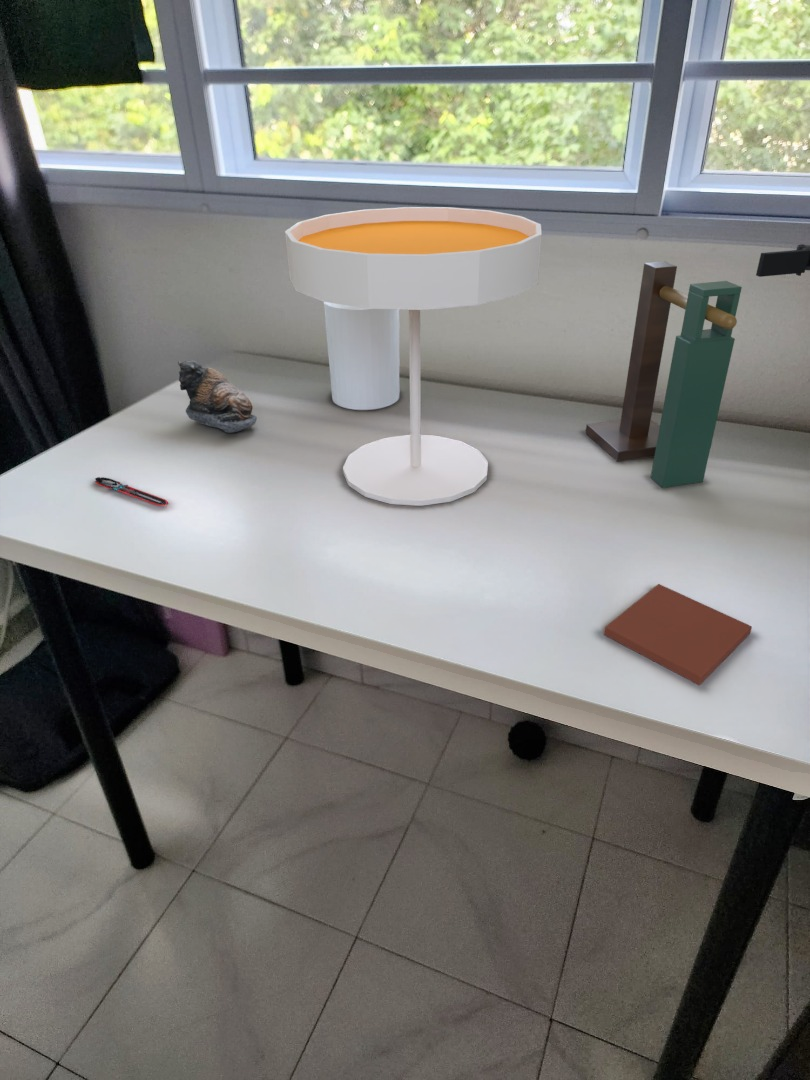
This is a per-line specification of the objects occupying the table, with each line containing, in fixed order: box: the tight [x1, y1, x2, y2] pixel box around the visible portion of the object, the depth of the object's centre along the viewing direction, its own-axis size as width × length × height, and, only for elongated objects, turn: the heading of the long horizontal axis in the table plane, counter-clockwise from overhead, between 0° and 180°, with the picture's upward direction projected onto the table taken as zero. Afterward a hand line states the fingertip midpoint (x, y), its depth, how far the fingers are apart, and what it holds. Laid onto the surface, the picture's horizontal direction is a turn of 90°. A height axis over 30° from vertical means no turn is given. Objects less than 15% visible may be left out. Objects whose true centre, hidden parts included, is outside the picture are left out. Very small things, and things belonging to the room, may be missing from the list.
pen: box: [94, 476, 169, 507], centre depth 98 cm, size 2×14×1 cm, turn 58°
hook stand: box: [585, 260, 738, 462], centre depth 98 cm, size 22×10×25 cm, turn 14°
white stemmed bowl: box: [284, 206, 543, 507], centre depth 95 cm, size 30×30×31 cm
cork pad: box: [603, 583, 753, 686], centre depth 72 cm, size 10×10×1 cm
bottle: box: [323, 302, 400, 411], centre depth 119 cm, size 12×12×25 cm
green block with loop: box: [650, 280, 743, 489], centre depth 93 cm, size 3×6×25 cm, turn 104°
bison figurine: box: [177, 359, 258, 434], centre depth 114 cm, size 12×7×10 cm, turn 66°
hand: (796, 277), depth 88 cm, fingers open, 13 cm apart
